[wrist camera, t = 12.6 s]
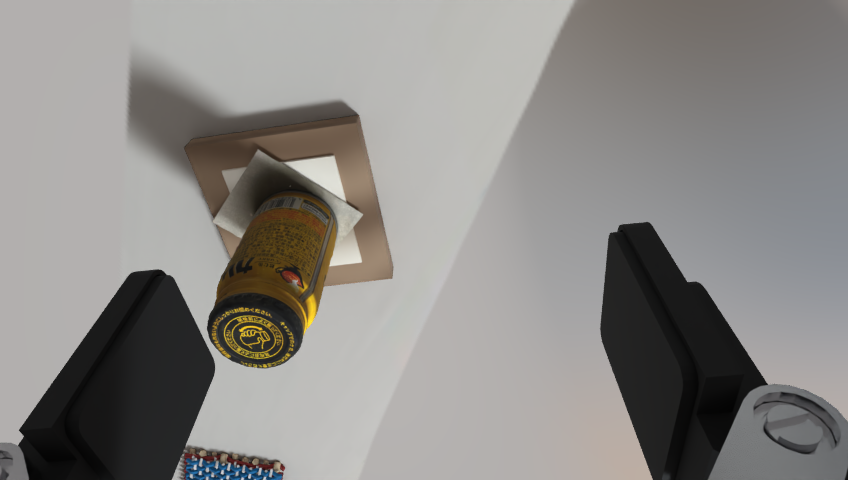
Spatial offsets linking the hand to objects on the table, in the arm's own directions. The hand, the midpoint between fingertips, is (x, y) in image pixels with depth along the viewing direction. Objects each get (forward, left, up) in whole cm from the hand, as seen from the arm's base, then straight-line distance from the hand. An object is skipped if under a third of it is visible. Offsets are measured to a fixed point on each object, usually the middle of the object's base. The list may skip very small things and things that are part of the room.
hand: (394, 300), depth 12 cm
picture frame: (+11, -11, -27) cm, 31 cm away
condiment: (+11, -11, -25) cm, 30 cm away
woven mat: (+45, -28, -27) cm, 59 cm away
